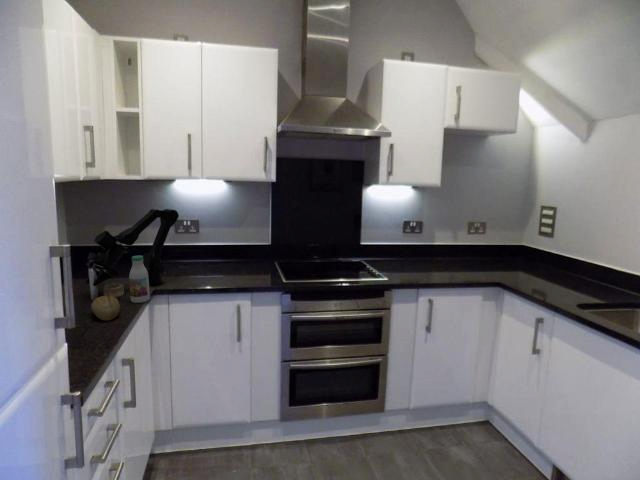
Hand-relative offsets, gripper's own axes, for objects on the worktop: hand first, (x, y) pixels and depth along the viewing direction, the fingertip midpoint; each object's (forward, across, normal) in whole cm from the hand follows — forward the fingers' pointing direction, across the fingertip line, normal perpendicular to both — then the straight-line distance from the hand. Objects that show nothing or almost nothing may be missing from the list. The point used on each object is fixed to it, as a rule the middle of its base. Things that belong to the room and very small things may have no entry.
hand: (90, 284), depth 177 cm
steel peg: (+4, 0, +6) cm, 7 cm away
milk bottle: (-4, +17, +14) cm, 23 cm away
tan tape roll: (-2, +1, +12) cm, 12 cm away
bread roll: (+9, +23, +1) cm, 25 cm away
